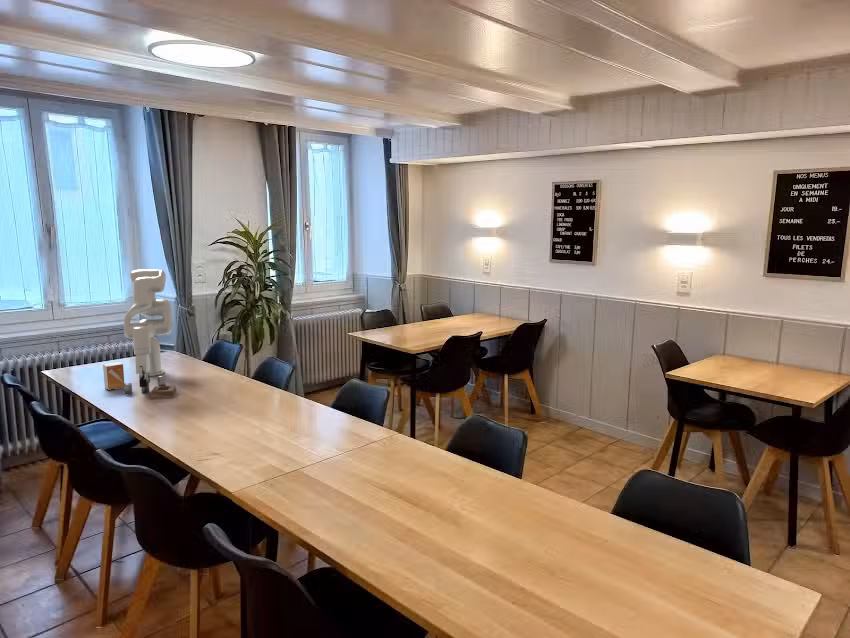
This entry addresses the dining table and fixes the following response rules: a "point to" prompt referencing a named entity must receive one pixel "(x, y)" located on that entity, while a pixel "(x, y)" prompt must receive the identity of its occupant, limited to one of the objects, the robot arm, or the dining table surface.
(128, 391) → the short pin
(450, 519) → the dining table surface
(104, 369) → the small box
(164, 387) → the socket block
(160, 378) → the medium pin
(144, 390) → the long pin
